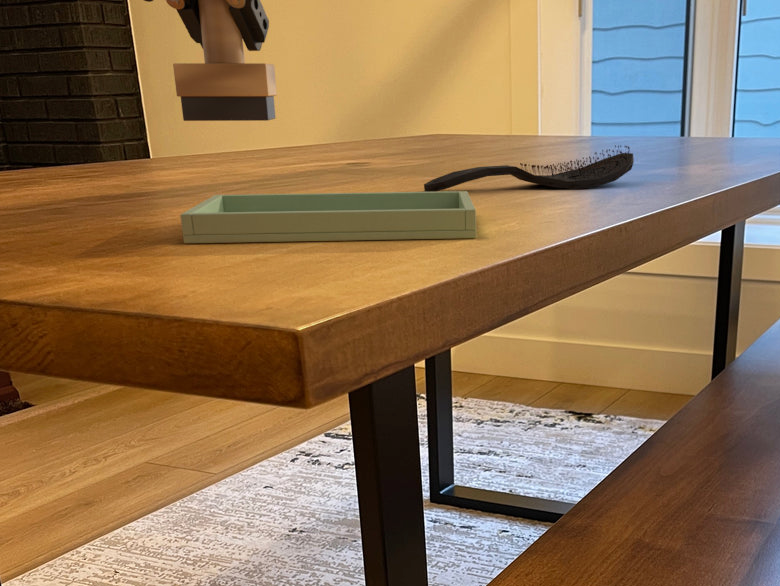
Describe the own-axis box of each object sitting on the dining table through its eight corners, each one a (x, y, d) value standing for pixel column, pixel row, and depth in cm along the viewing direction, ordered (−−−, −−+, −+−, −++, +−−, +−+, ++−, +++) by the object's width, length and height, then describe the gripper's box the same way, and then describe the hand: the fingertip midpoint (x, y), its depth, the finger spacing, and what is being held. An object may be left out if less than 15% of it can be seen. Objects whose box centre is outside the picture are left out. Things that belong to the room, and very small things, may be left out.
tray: (183, 243, 74) (179, 214, 73) (217, 220, 86) (214, 194, 85) (476, 238, 75) (475, 209, 74) (467, 216, 88) (467, 191, 87)
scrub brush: (179, 120, 66) (157, -60, 62) (192, 119, 70) (172, -52, 66) (270, 120, 67) (254, -59, 63) (279, 118, 70) (264, -51, 66)
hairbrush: (410, 162, 108) (611, 142, 117) (413, 197, 110) (611, 175, 119) (437, 167, 101) (649, 147, 110) (440, 205, 103) (648, 182, 112)
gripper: (250, -277, 53) (343, 0, 69) (12, -261, 55) (155, 3, 71) (217, -181, 50) (321, 84, 66) (-32, -169, 52) (127, 84, 68)
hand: (235, 41), depth 68 cm, fingers closed on scrub brush, 2 cm apart
